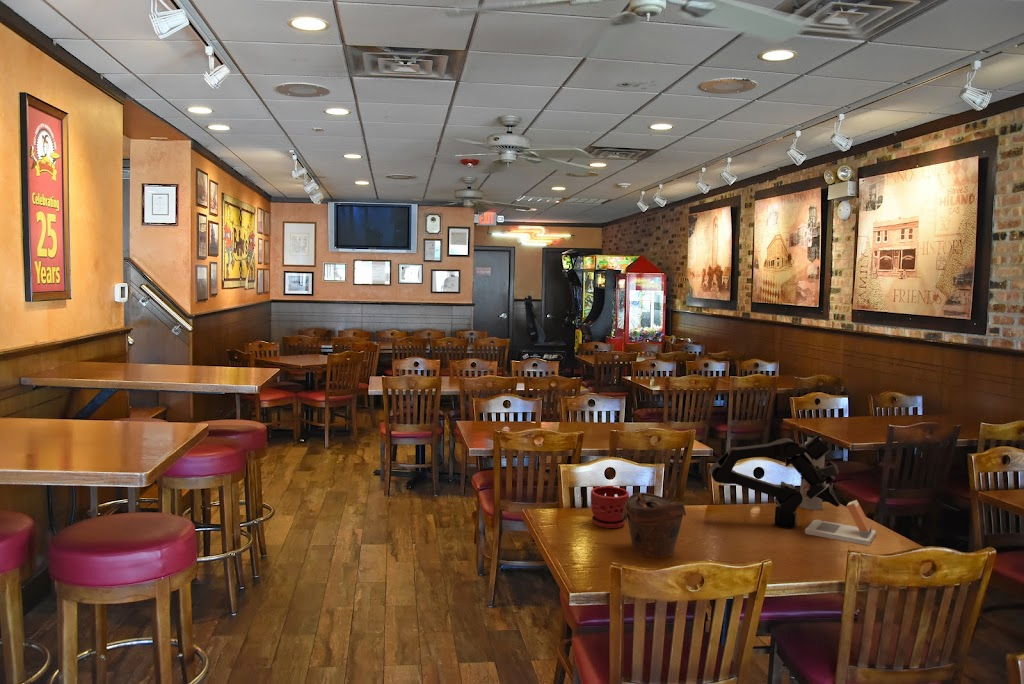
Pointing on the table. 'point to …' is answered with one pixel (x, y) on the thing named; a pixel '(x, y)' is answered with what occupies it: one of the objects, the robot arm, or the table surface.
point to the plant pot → (608, 506)
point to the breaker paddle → (858, 516)
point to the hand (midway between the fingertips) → (838, 505)
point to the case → (653, 524)
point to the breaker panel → (840, 532)
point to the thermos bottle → (815, 501)
